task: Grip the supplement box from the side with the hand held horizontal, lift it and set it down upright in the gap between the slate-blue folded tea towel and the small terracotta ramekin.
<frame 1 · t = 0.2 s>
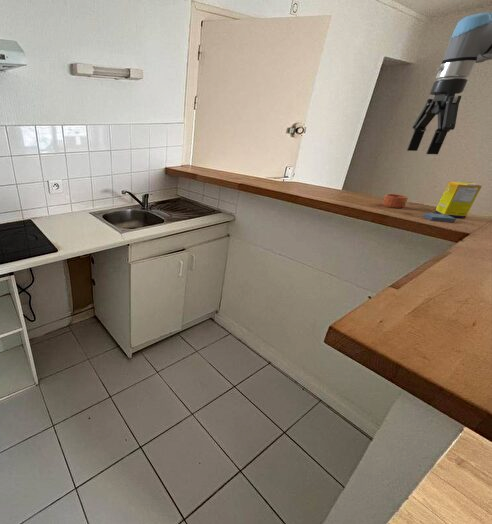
hand: (421, 152, 97), 19 cm above the worktop, tool pointing down, fingers open, 13 cm apart
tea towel: (438, 219, 93), on the worktop
supplement box: (448, 215, 97), on the worktop
ramekin: (392, 206, 107), on the worktop
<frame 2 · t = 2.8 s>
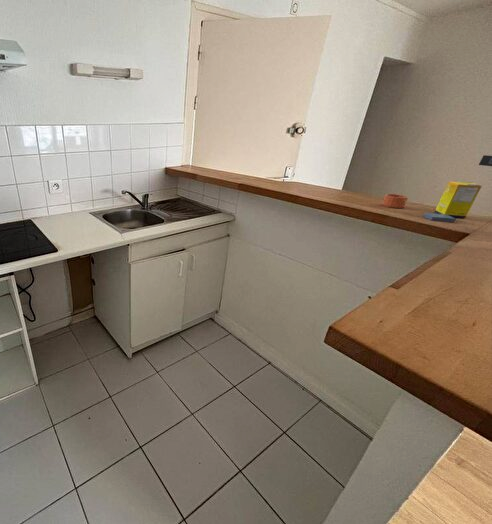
nothing on the worktop moved.
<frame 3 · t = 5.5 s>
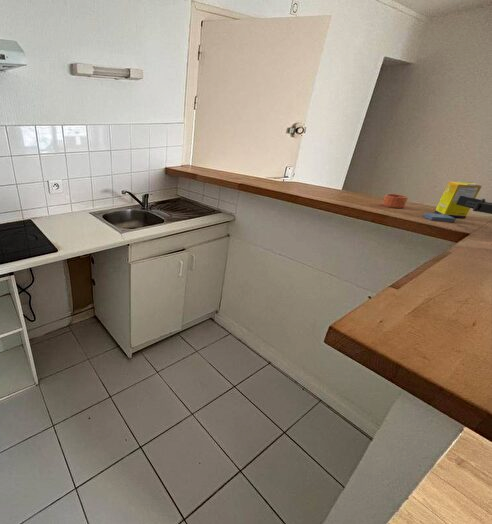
hand: (480, 200, 88), 7 cm above the worktop, tool horizontal, fingers open, 13 cm apart
nothing on the worktop moved.
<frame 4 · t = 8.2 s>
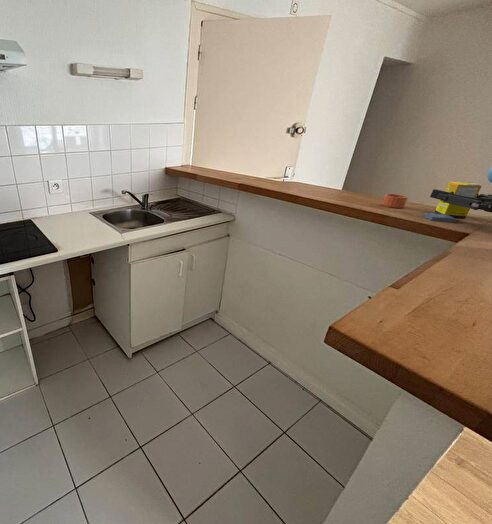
hand: (444, 193, 98), 7 cm above the worktop, tool horizontal, fingers closed on supplement box, 7 cm apart
supplement box: (448, 215, 97), on the worktop, touching gripper
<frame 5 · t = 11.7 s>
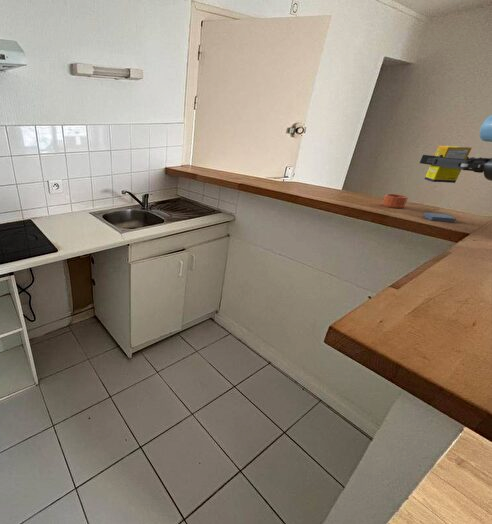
hand: (434, 159, 96), 17 cm above the worktop, tool horizontal, fingers closed on supplement box, 7 cm apart
supplement box: (438, 181, 95), point 11 cm above the worktop, touching gripper
when the fingers open (6 cm above the worktop, at t = 15.2 s): supplement box stays where it is, on the worktop.
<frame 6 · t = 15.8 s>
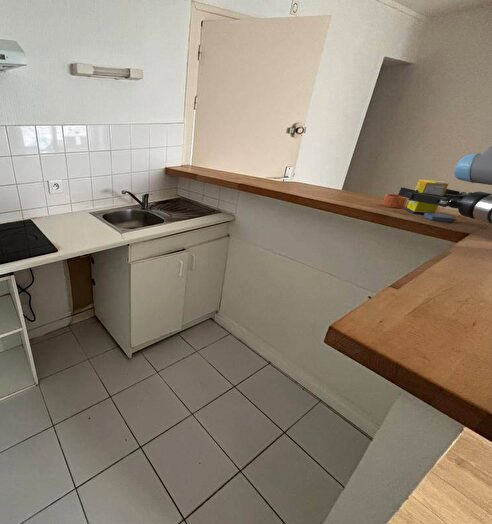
hand: (419, 191, 100), 7 cm above the worktop, tool horizontal, fingers open, 13 cm apart
supplement box: (419, 213, 100), on the worktop
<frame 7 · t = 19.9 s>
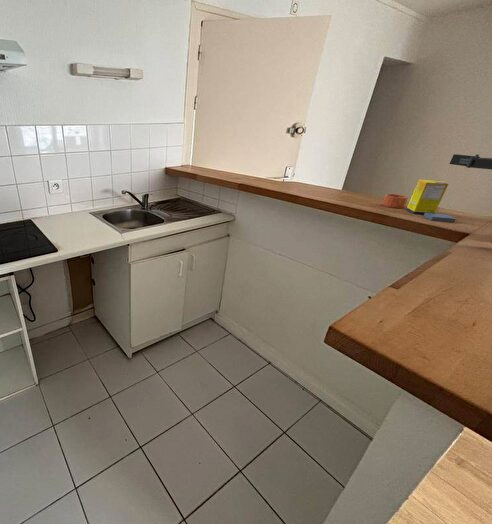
hand: (475, 159, 83), 19 cm above the worktop, tool horizontal, fingers open, 13 cm apart
nothing on the worktop moved.
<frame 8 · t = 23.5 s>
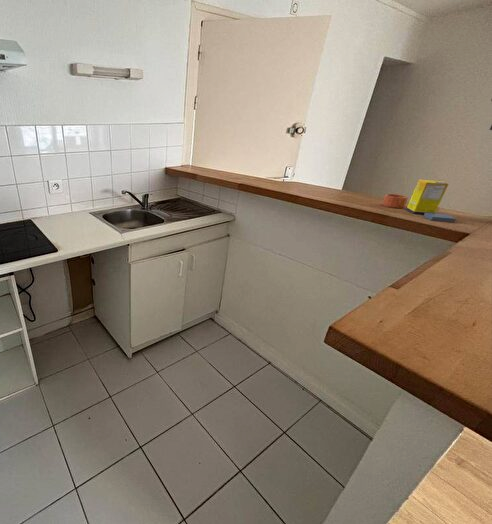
nothing on the worktop moved.
at the end: supplement box 0.2 cm from the target spot, on the worktop; supplement box tilted 0°; the gripper is holding nothing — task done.
